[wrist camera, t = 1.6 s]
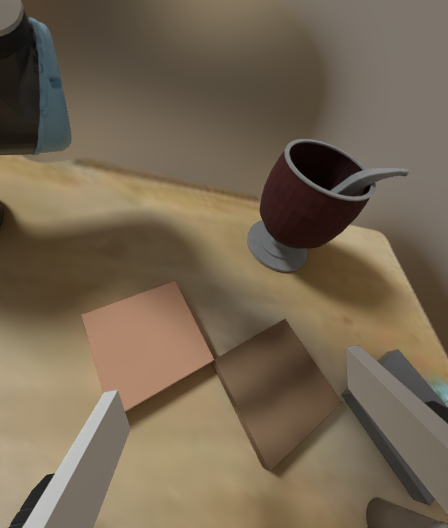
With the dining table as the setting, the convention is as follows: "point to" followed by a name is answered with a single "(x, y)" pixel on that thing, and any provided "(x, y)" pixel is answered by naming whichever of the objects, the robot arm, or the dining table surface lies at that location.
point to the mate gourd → (310, 202)
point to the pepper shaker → (397, 516)
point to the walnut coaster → (275, 391)
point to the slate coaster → (412, 483)
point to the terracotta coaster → (145, 344)
